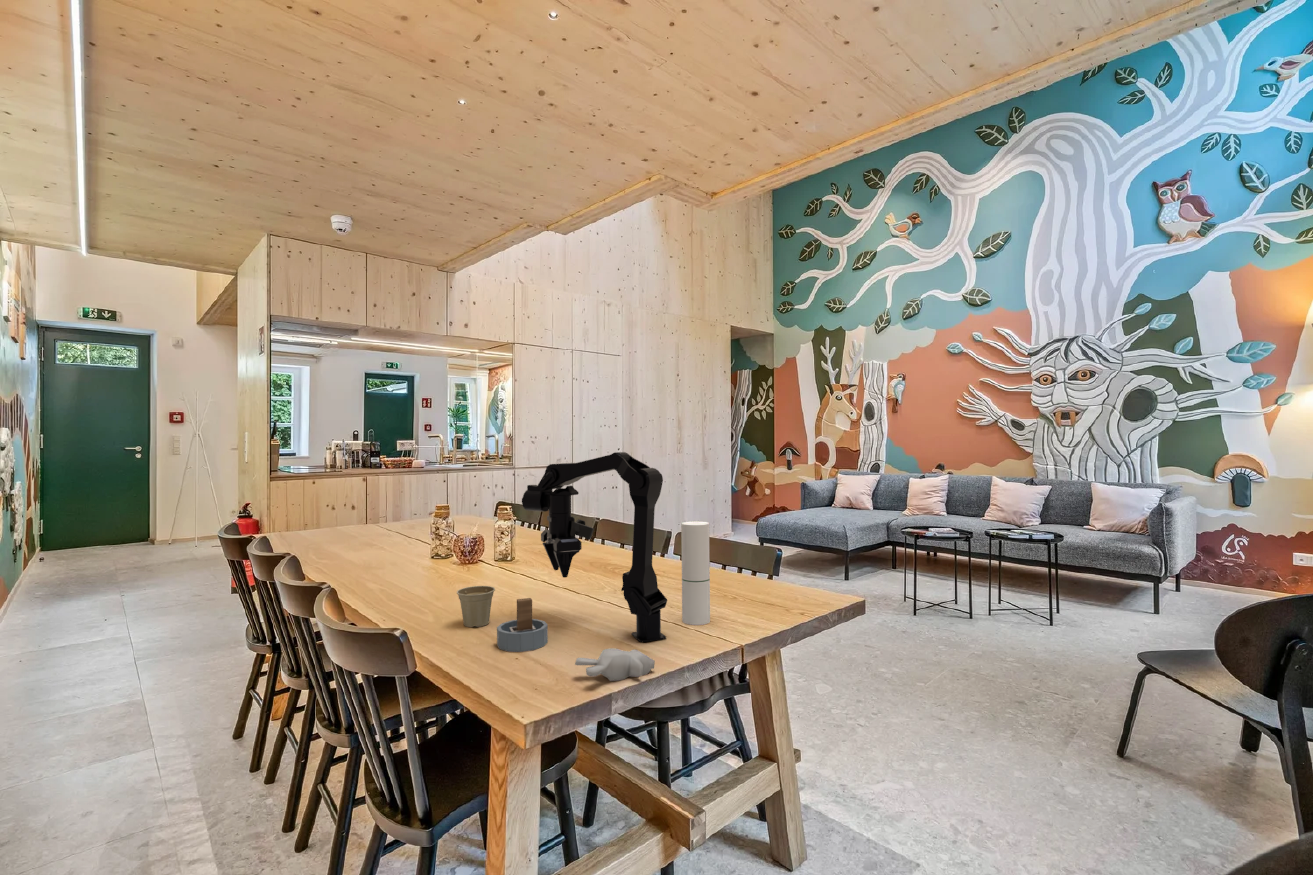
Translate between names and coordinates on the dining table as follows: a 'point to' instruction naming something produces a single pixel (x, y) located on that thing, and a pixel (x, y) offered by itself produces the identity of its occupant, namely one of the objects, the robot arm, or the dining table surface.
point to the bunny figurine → (618, 664)
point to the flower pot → (476, 605)
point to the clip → (514, 629)
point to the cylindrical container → (695, 573)
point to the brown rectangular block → (524, 614)
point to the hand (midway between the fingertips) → (560, 573)
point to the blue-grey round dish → (522, 637)
